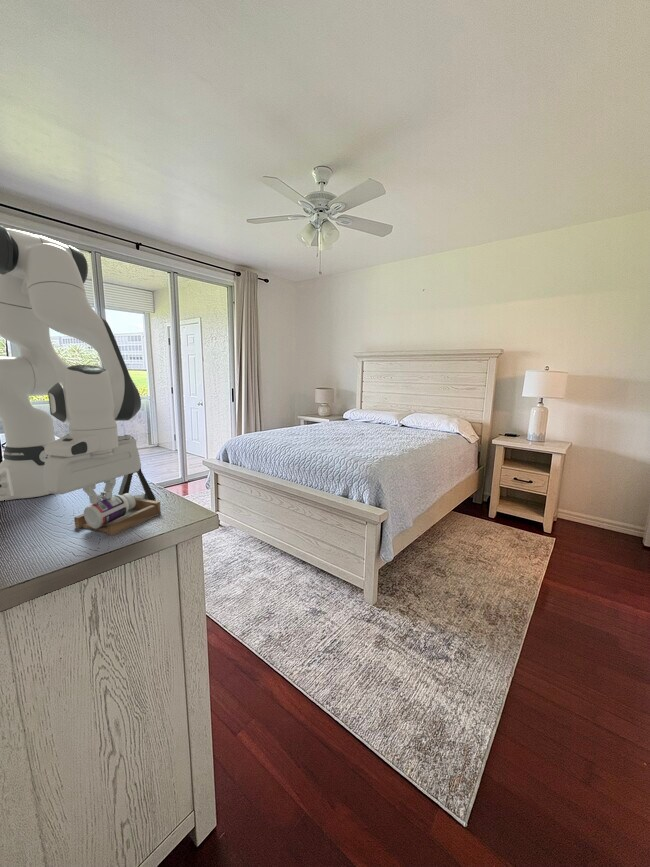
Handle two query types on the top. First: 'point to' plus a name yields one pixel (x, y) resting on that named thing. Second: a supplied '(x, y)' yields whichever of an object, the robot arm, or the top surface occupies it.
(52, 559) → the top surface
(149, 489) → the phone stand
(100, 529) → the tray
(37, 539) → the top surface
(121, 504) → the pill bottle
